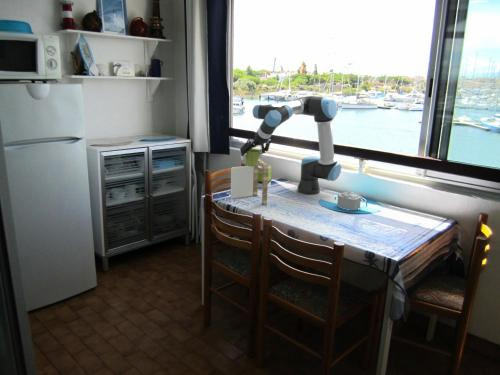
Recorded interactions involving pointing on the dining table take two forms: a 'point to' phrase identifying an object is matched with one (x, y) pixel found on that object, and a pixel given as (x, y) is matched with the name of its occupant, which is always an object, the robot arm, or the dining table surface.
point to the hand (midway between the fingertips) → (249, 157)
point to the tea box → (260, 176)
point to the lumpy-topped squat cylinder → (349, 200)
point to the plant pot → (252, 157)
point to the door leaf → (241, 181)
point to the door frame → (265, 181)
